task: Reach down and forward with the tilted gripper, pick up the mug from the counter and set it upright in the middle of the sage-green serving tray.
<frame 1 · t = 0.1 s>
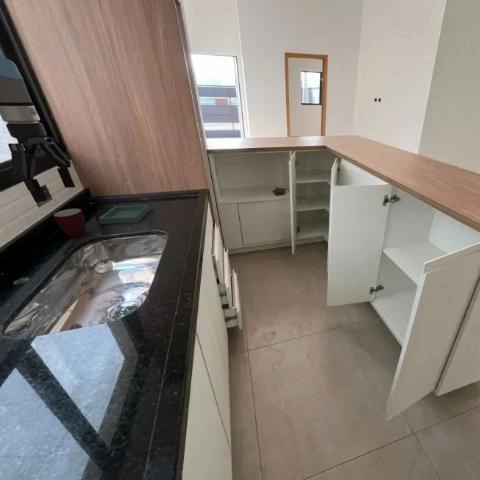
hand: (56, 193, 86), 21 cm above the counter, tool pointing down, fingers open, 13 cm apart
mug: (79, 235, 105), on the counter
tray: (126, 216, 122), on the counter
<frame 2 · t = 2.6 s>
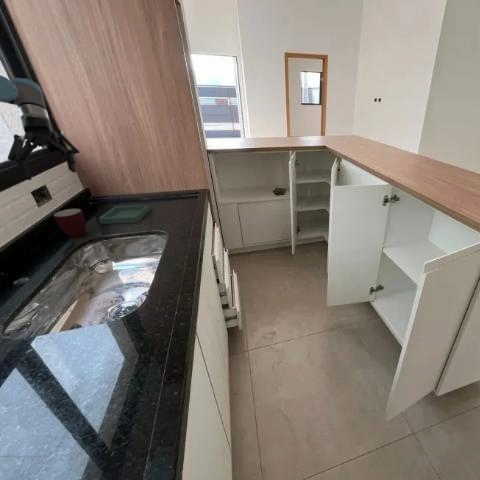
hand: (50, 174, 97), 23 cm above the counter, tool tilted 35°, fingers open, 13 cm apart
nothing on the counter moved.
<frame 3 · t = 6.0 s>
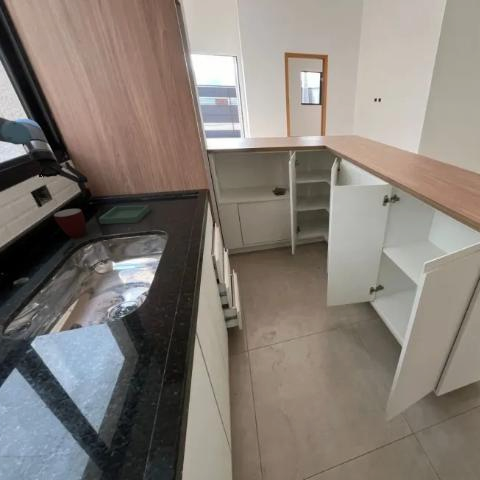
hand: (63, 200, 104), 12 cm above the counter, tool tilted 45°, fingers open, 13 cm apart
nothing on the counter moved.
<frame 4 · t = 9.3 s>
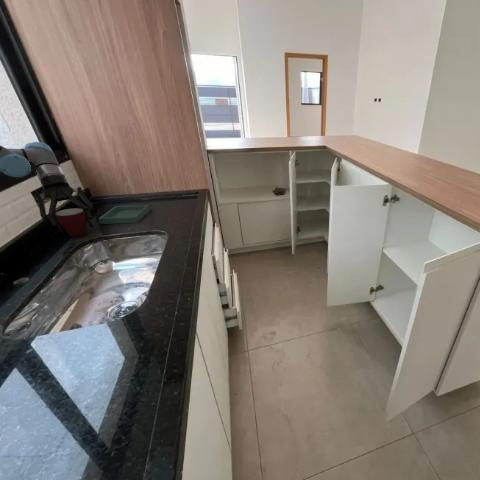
hand: (77, 229, 101), 4 cm above the counter, tool tilted 45°, fingers closed on mug, 8 cm apart
mug: (79, 234, 105), on the counter, touching gripper
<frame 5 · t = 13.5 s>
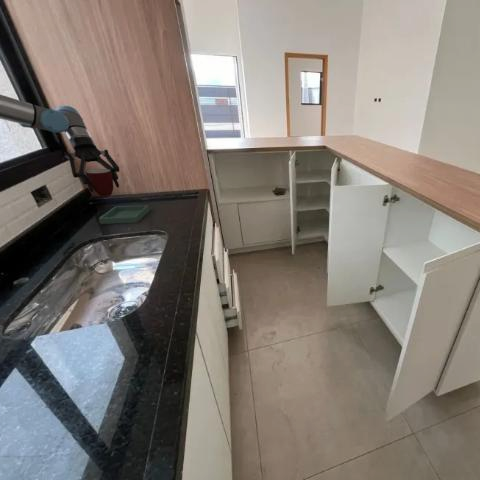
hand: (105, 187, 108), 16 cm above the counter, tool tilted 45°, fingers closed on mug, 8 cm apart
mug: (106, 194, 112), point 12 cm above the counter, touching gripper
when the fingers open (4 cm above the counter, at t = 17.7 s): mug stays where it is, resting on tray.
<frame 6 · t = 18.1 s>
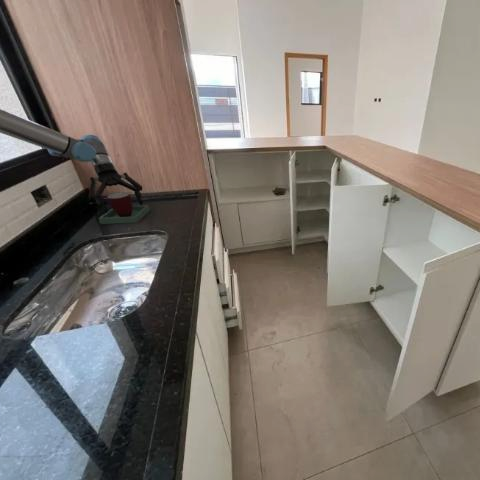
hand: (124, 207, 118), 5 cm above the counter, tool tilted 45°, fingers open, 13 cm apart
mug: (126, 215, 121), resting on tray
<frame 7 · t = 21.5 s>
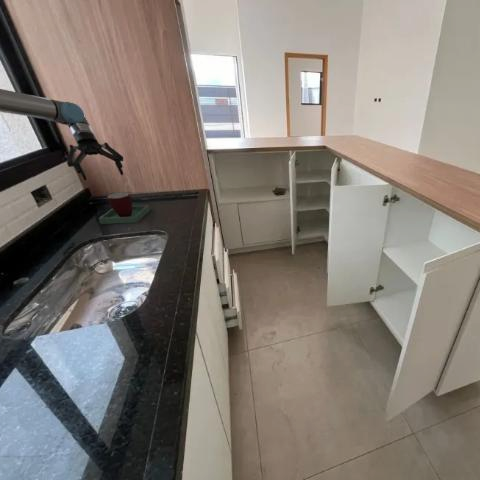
hand: (104, 175, 118), 17 cm above the counter, tool tilted 45°, fingers open, 13 cm apart
nothing on the counter moved.
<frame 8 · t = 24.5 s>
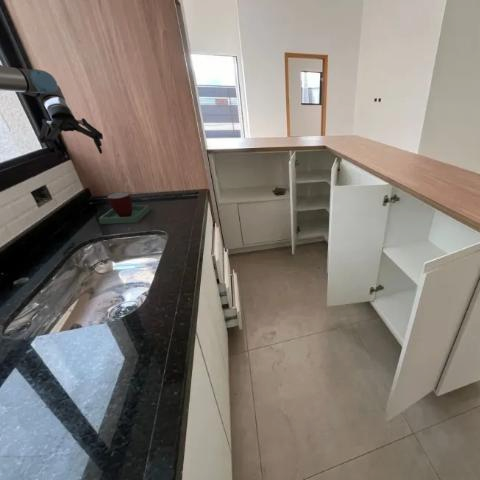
hand: (80, 153, 109), 28 cm above the counter, tool tilted 45°, fingers open, 13 cm apart
nothing on the counter moved.
at the end: mug inside the target area in the tray (0.1 cm from its centre), point 0.4 cm above the tray's base; mug tilted 0°; the gripper is holding nothing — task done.
